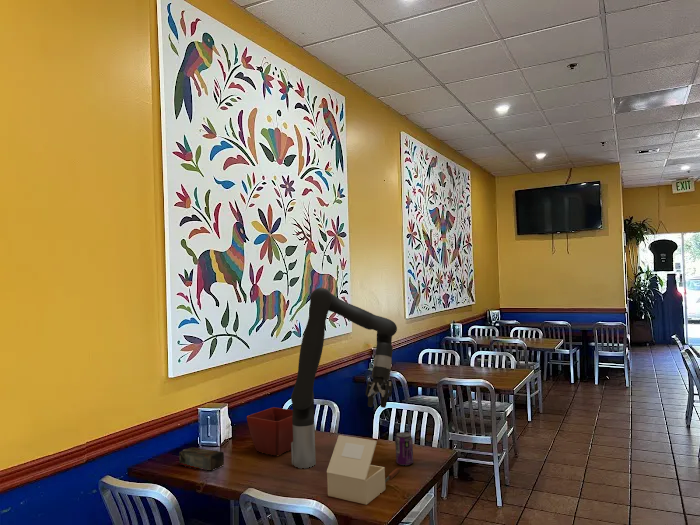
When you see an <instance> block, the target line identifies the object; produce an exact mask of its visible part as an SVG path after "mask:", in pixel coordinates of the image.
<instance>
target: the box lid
mask: <svg viewBox="0 0 700 525" xmlns="http://www.w3.org/2000/svg"><path fill="white" fill-rule="evenodd" d="M336 439H337V440H336V443H335V445H334V448H333V452H332V455H331V458H330V460H329V463H328V467H327V469H326V474H327V473H330V474H335V475H340V476H345V477H350V478H355V479H360V480H365V481H366V478H367V475H368V471H369V468H370V465H372V464H371V463H372V461H373V457H374V455H375V454H374V453H375V450H376V446H377V443H378V441H377V440H373V439H368V438H361V437H360V438H359V437H355V436H349V435H348V436H347V435H341V434H338V436H337V438H336Z"/></svg>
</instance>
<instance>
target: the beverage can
mask: <svg viewBox="0 0 700 525" xmlns="http://www.w3.org/2000/svg"><path fill="white" fill-rule="evenodd" d="M394 440H395V461H396V462H395V463H396V464H398V465H400V466H404V465H405V467H407V466H410V465H411V464H413V463H414V450H413V448H414V446H413V437H412V433H410V432H406V431H402V432H397V433H396V434H395V439H394Z"/></svg>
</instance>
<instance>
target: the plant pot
mask: <svg viewBox="0 0 700 525" xmlns="http://www.w3.org/2000/svg"><path fill="white" fill-rule="evenodd" d="M292 416H293V409H288V408H281V407H275V406H273V407H270V408H267V409H264V410H261V411H258V412H255V413H251V414H250V415H249V414H248V415H247V416H246V421H247V426H248V430H249V435H250V437H251V440H252V443H253V445H254V448H255V451H256V452H257V451H259V452H263V453H267V454H266V455H268V454H271V455H270V456H272V455H280V454H282V453H284V452H286V451H288V452H290V451H291V442H293V424H292ZM289 450H290V451H289ZM259 452H258V453H259ZM263 453H262V454H263ZM286 453H287V452H286ZM284 454H285V453H284ZM282 455H283V454H282ZM280 456H281V455H280Z"/></svg>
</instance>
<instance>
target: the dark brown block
mask: <svg viewBox="0 0 700 525" xmlns="http://www.w3.org/2000/svg"><path fill="white" fill-rule="evenodd" d="M178 455H179V459H178V463H183V464H187V465H190V466H194V467H199V468H203V469H208V470H213V469H215V468H218V467H220V466H222V465H225V457H224V456H225V455H224V451H219V450H211V449H205V448H199V447H194V446H193V447H192V446H191V447H189V448H185V449H182V450H180V451H179V454H178ZM222 467H223V466H222ZM220 468H221V467H220ZM218 469H219V468H218ZM215 470H216V469H215ZM213 471H214V470H213Z"/></svg>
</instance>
